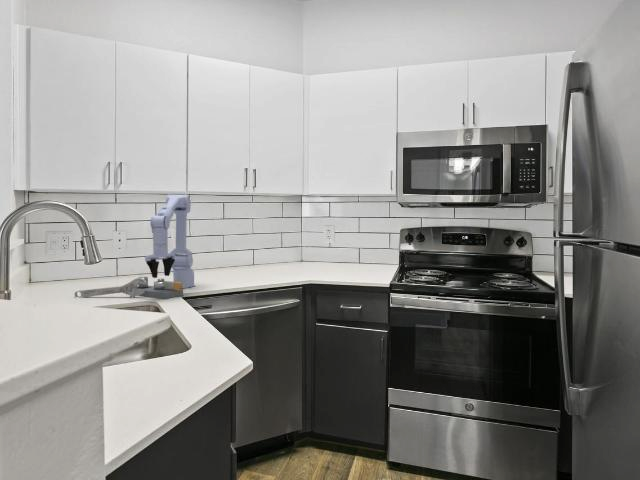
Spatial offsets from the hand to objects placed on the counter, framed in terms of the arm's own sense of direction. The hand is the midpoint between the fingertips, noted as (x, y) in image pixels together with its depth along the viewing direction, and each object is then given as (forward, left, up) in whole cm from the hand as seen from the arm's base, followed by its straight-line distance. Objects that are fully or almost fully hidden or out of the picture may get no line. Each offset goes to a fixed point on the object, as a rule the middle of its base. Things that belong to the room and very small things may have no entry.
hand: (160, 276), depth 195 cm
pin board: (-4, -8, -9) cm, 12 cm away
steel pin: (-4, -15, -9) cm, 18 cm away
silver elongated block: (-5, -2, -6) cm, 8 cm away
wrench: (+10, -19, -9) cm, 23 cm away
